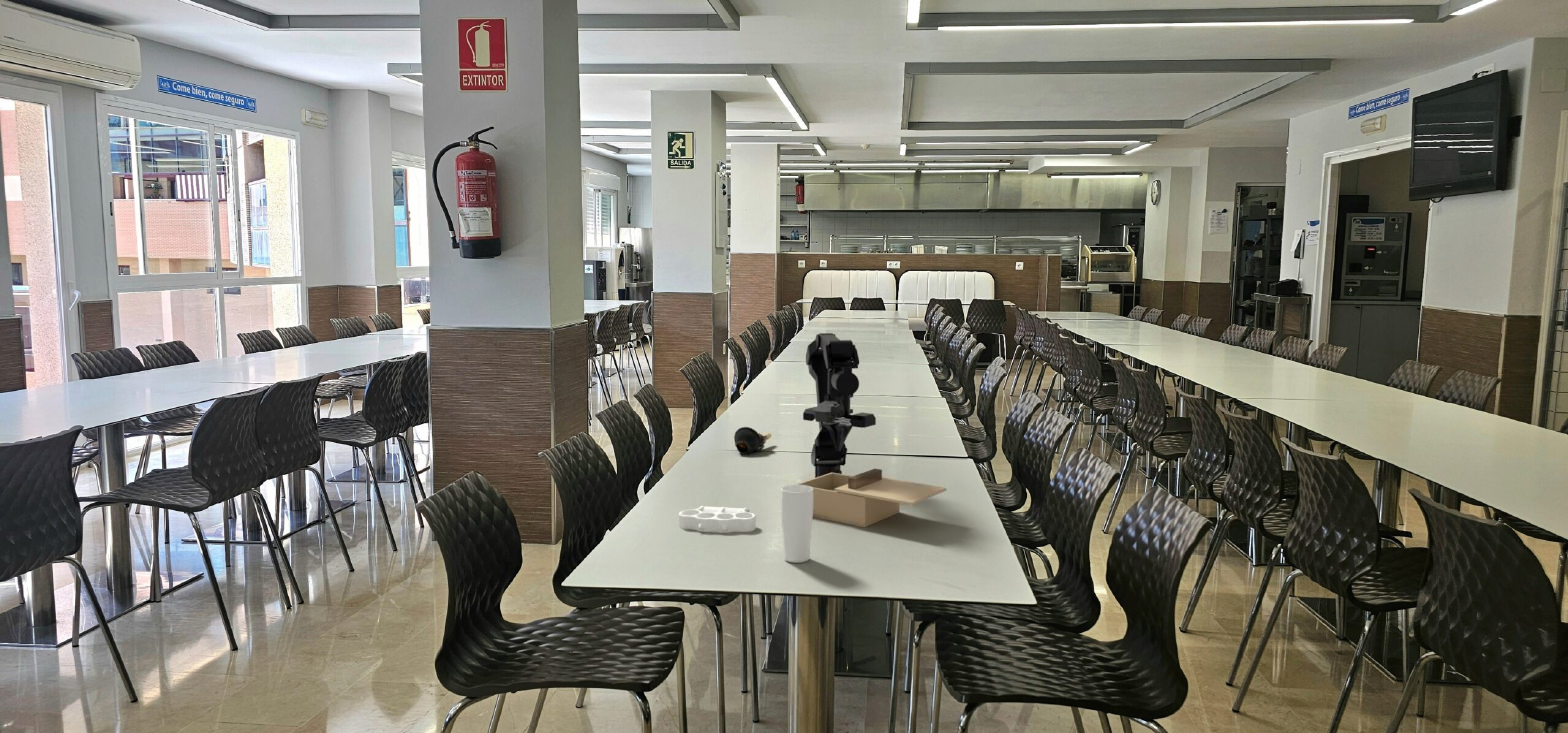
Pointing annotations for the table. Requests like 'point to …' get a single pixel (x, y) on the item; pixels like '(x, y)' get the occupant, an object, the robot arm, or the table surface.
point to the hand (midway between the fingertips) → (838, 450)
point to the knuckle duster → (718, 519)
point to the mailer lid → (888, 488)
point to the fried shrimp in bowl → (749, 440)
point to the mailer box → (846, 502)
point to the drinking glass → (797, 521)
